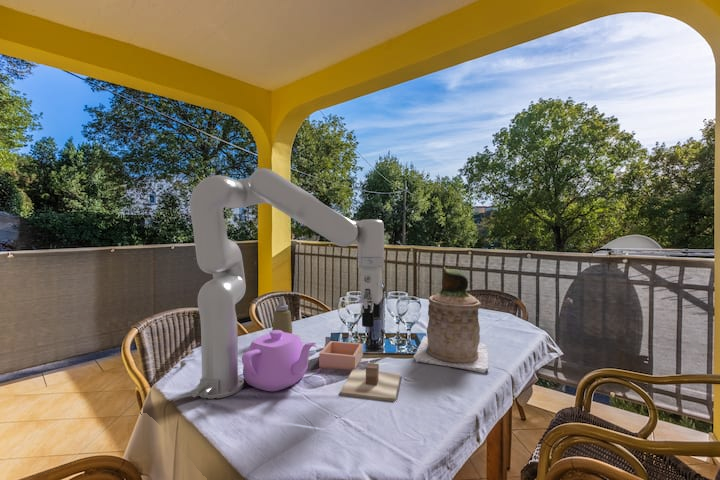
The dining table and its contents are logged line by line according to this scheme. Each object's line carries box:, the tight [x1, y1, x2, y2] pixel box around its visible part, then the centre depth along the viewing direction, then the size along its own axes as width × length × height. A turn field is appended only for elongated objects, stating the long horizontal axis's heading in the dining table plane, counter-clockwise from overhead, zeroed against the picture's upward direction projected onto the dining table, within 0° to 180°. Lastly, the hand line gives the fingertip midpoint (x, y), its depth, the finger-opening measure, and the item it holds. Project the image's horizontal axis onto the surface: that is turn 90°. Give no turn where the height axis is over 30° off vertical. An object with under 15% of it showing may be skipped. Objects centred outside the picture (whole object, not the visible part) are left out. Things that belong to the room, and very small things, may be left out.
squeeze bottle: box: [271, 295, 293, 334], centre depth 135 cm, size 8×8×18 cm
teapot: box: [241, 330, 317, 392], centre depth 98 cm, size 23×21×15 cm
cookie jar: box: [413, 266, 490, 374], centre depth 121 cm, size 25×25×32 cm
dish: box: [318, 340, 364, 372], centre depth 114 cm, size 12×12×5 cm
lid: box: [339, 362, 401, 402], centre depth 98 cm, size 15×15×6 cm
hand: (371, 321), depth 97 cm, fingers open, 9 cm apart
